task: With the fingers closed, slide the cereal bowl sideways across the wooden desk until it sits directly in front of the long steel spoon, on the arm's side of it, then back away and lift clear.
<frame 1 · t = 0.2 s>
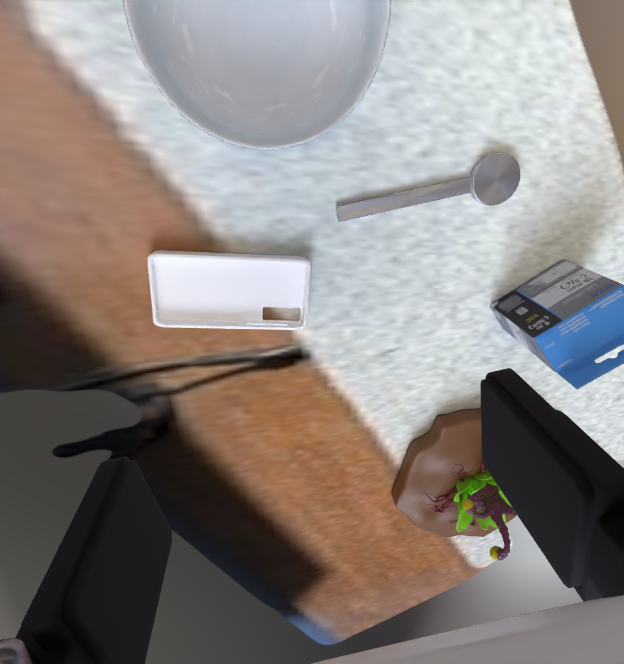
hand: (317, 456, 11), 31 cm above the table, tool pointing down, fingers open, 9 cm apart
plant: (465, 470, 56), on the table
spoon: (434, 191, 39), on the table
phone case: (232, 288, 41), on the table
cereal bowl: (261, 31, 33), on the table
blue cardboard box: (530, 294, 45), on the table
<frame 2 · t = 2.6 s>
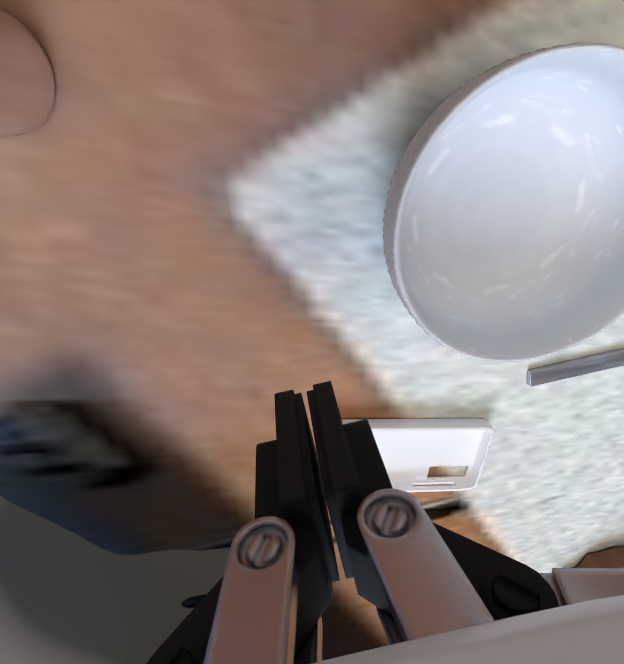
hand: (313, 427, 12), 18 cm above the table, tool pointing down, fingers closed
plant: (603, 598, 52), on the table
phone case: (399, 449, 37), on the table
cereal bowl: (484, 206, 28), on the table
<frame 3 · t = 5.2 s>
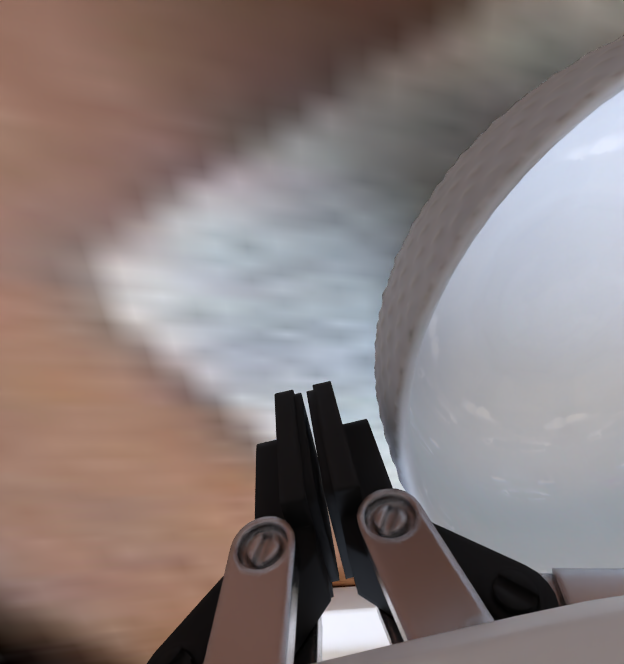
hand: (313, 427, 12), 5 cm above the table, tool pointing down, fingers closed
phone case: (405, 616, 26), on the table
cereal bowl: (548, 287, 17), on the table, touching gripper
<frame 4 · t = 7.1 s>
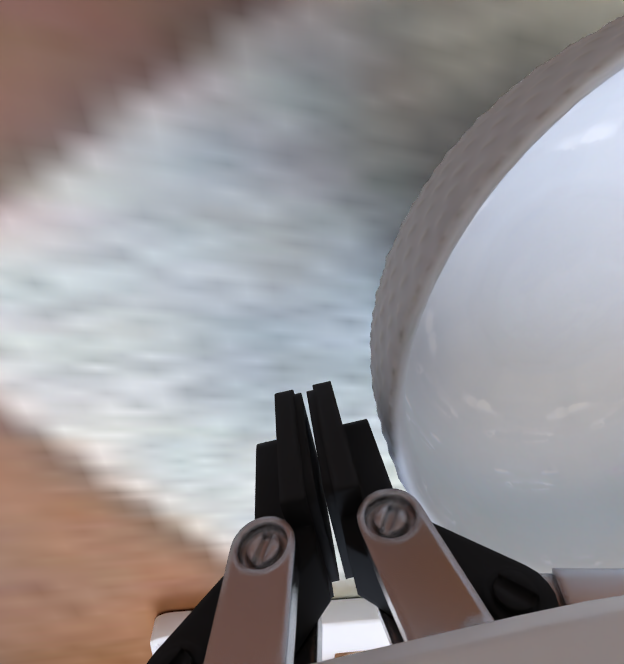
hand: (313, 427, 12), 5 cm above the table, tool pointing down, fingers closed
phone case: (287, 634, 26), on the table
cereal bowl: (546, 277, 17), on the table, touching gripper
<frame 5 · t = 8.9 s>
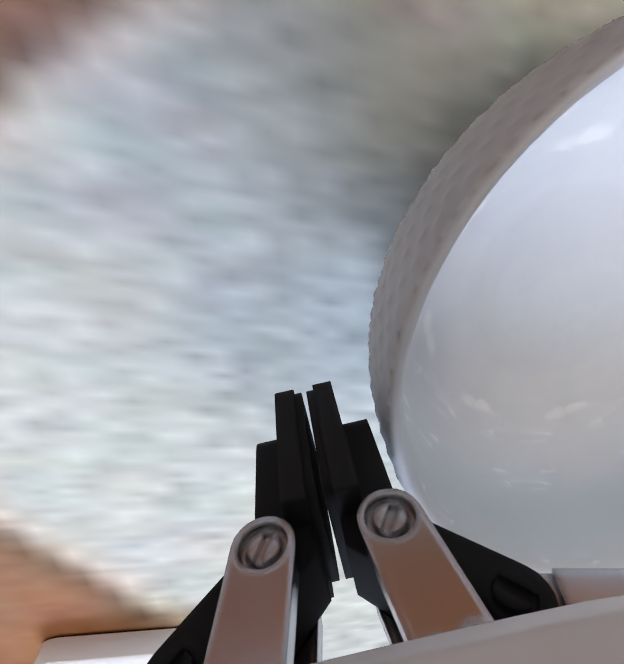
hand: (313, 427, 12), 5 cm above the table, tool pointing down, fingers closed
phone case: (186, 657, 26), on the table
cereal bowl: (543, 278, 17), on the table, touching gripper
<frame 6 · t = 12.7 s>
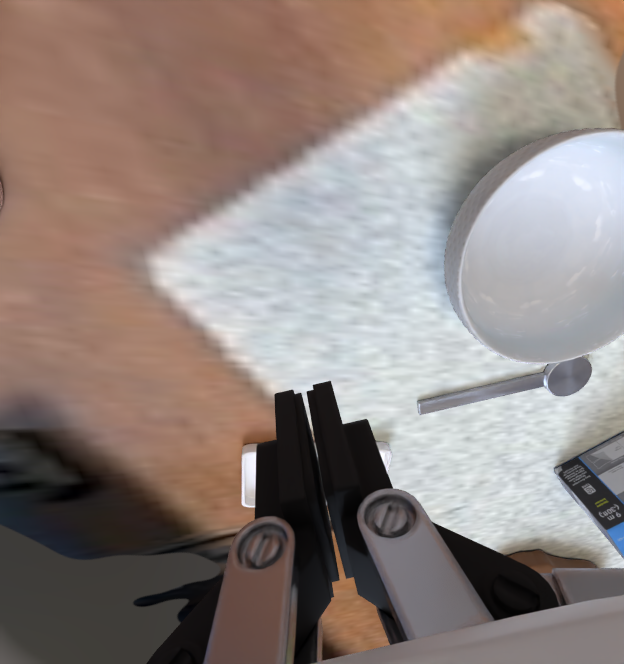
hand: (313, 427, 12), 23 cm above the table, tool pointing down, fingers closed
plant: (519, 598, 58), on the table
spoon: (509, 385, 41), on the table
phone case: (314, 468, 44), on the table
cereal bowl: (519, 238, 35), on the table
blue cardboard box: (592, 457, 47), on the table
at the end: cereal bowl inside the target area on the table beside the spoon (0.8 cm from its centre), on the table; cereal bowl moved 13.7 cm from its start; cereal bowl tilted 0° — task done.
